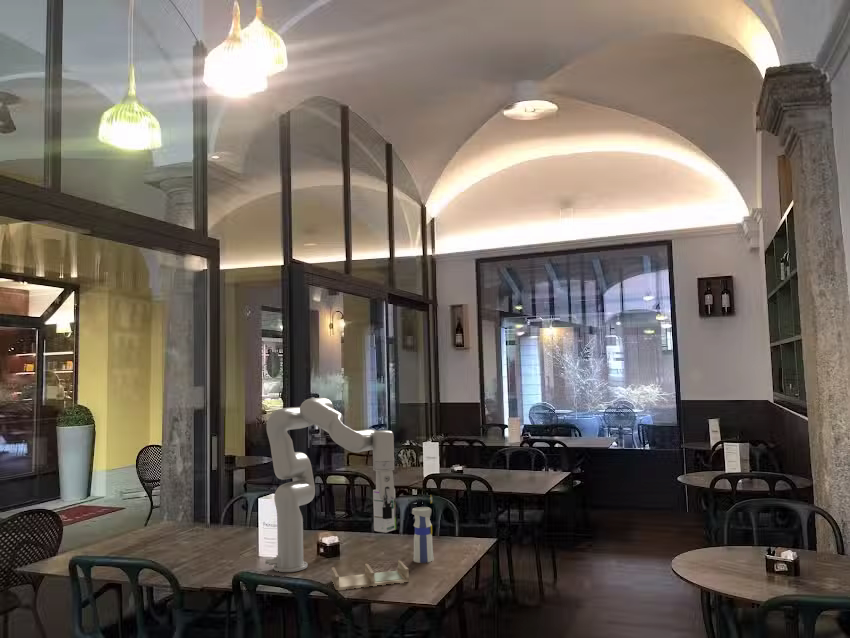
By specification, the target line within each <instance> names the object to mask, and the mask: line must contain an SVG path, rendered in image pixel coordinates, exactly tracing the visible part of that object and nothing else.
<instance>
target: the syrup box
mask: <svg viewBox="0 0 850 638" xmlns="http://www.w3.org/2000/svg"><path fill="white" fill-rule="evenodd" d="M394 494H395V495H396V488H395V487H394ZM384 498H387V496H386V492H385V494H384ZM385 501H386V500H385ZM372 502H373V503H372V504H373V505H372V506H373V530H374V531H375V532H378V533H389V532H392V531H396V530H397V506H396V497H395V498H394V499H392V498H391V504H392V518H391V519H383V510H382V507H383V500H382V499H380V496H379V490H378V489H376V488H375V489H372Z"/></svg>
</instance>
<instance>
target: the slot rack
mask: <svg viewBox="0 0 850 638" xmlns="http://www.w3.org/2000/svg"><path fill="white" fill-rule="evenodd" d="M330 569H331V572H330V573H331V583H332V582H333V583H332V584H334V585H333V586H334V589H335V590H338V591H346V589H347V590H355V589H354V588H356V589H362V588H361V587H364V588H370V587H369V586H373V587H378V586H377V585H382V586H387V585H386V584H391V585H395V584H394V583H400V584H405V583H404V582H408V583H410V572H409V571H410V569H409V567H407V565H405V564H404V562H403V561H402V560H401V559H400V560H397V570H392V571H390V570H389V571H382V572H381V571H380V572H375V571H374V570H373V569H372V567H371V566H370V564H369V563H365V564H364V570H365V571H364V572H365V573H364V574H353V575H346V576H340V575H339V574H338V572H337V570H336V567H334V566H333V567H332V566H331V568H330Z"/></svg>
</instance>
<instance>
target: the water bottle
mask: <svg viewBox="0 0 850 638" xmlns="http://www.w3.org/2000/svg"><path fill="white" fill-rule="evenodd" d="M429 500H430V503H431V504H432V503H434V501H433V496H432V495H430V497H429ZM411 509H412V510H411V514H412V515H414V523H413V527H414V536H413V562H414V563H417V564H419V563H420V564H421V563H422V564H425V563H426V562H427V563H432V562H434V550H433V549H434V548H433V524H432V523H431V520H430V519H431V516H432V508H431V507H428V506H420V507H414V508H411ZM431 561H432V562H431ZM427 563H426V564H427Z"/></svg>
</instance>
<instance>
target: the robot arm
mask: <svg viewBox="0 0 850 638" xmlns="http://www.w3.org/2000/svg"><path fill="white" fill-rule="evenodd" d="M343 421H344V416H343V414H342V413H341V412H339V411H338V410H336V409H335V408H334V405H333V403H332V401H331V400H330V399H328V398H326V397H313V398H312V397H311V398H307V399H305V400H304V401H303V402H302V403H300V406H294V407H293V406H291V407H283V408H279V409H277V410H275V411H273V412H272V413H270V416H269V417H268V418H267V422H266V434H267V437H268V441H269V445H270V446H269V447H270V452H271V458H272V459H271V460H272V466H273V472H274V474H275V476H276V478H277V479H279V480H290V479H292V481H289V482H285V483H283V484H281V485H279V486H278V487H277V488H276V490H275V492H274V496H273V497H274V498H273V499H274V504H275V511H276V522H277V523H276V529H277V536H276V537H277V555H275V556H276V557H273V558H265V559H264V562H265V563H264V564H265V565H269V566H272V565H273V570H274V571H275V572H278V571H279V572H278V573H294V572H300V571H303V570H305V569H307V568H308V562H307V561H304V523H303V522H304V518H303V514H302V511H301V509H300V506H305V505H307V504H309V503H310V502H312V501H313V499H314V498H315V495H316V486H315V480H314V473H313V467H312V464H311V463H312V462H311V460H310V458H309V456H308V455H307V454H306V453H304V452H302V451H295V449H294V443H293V439H292V438H291V435H290V434H289V433H288V431H290V430H291V431H292V430H300V429H304V428H307V427H311V426H313V425H315V426H316V427H318V428H319V429H321V430H323V431H325V432H326V433H327V434H329V437H330V438H331V440H332V441H333V442H334V443H335V444H336V445H338V446H340V447H341V448H343V449H345V450H347V451H349V452H351V453H356V454H357V453H362V452H368V451H372V470H373V472H374V471H375V489H378V490H379V496H380V499H382V500H383V507H382V510H383V519H391V518H392V504H391V498H392V499H394V498H395V499H396V493H395V494H394V488H395V481H394V472H393V471H395V442H394V441H395V437H394V436H395V435H394V432H393V431H392V430H387V429H385V430H383V429H382V430H376V429H372V428H371V429H369V428H367V429H361V430H354V429H352V428H351V427H349V426H347V425H345V424H344V423H343ZM385 492H386V496H387V498H384V494H385ZM385 500H386V501H385Z"/></svg>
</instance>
